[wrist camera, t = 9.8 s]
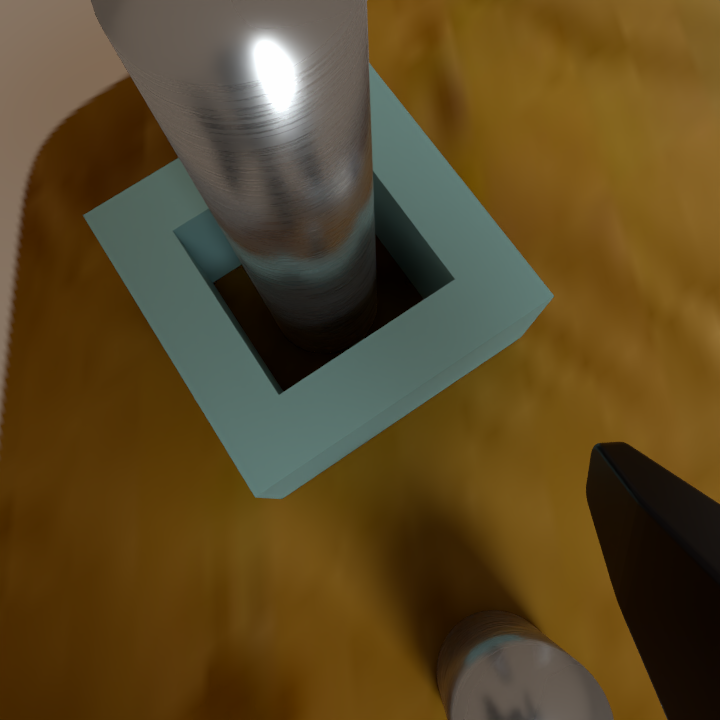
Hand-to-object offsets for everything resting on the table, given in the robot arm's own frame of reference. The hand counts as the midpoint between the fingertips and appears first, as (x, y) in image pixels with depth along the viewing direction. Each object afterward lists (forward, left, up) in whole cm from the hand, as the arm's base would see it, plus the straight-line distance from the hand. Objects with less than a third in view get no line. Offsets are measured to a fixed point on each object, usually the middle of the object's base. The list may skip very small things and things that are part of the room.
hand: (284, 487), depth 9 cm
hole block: (+3, +5, -10) cm, 12 cm away
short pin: (+1, -7, -10) cm, 12 cm away
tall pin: (+3, +5, -10) cm, 12 cm away
